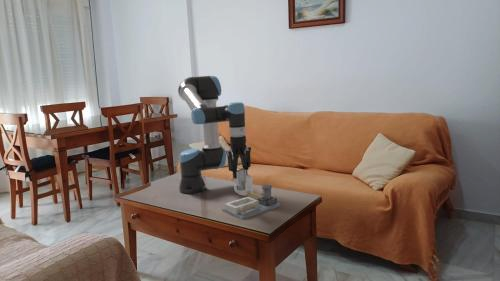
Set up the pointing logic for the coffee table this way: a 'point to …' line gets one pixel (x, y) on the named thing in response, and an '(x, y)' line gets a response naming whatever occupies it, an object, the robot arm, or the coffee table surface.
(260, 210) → the plate
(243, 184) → the pin
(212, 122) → the robot arm
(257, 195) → the ring lever
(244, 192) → the mug
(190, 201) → the coffee table surface
